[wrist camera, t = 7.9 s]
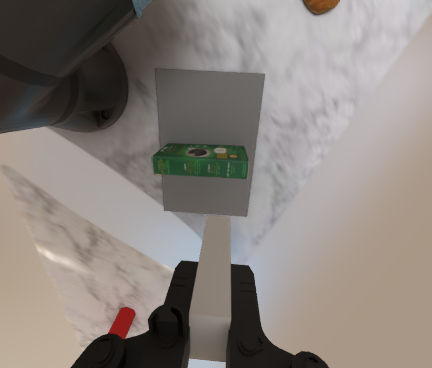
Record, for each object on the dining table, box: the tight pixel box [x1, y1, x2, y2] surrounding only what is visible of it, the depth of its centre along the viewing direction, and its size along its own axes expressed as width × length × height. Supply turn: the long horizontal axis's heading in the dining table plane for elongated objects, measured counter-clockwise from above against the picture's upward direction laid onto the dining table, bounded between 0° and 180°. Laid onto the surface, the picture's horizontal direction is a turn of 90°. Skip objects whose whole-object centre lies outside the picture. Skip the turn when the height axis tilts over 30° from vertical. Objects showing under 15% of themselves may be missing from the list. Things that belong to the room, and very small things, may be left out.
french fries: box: [108, 307, 135, 339], centre depth 47 cm, size 9×4×13 cm, turn 152°
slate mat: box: [155, 69, 265, 217], centre depth 34 cm, size 16×24×1 cm, turn 177°
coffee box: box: [151, 143, 250, 179], centre depth 30 cm, size 8×3×13 cm
